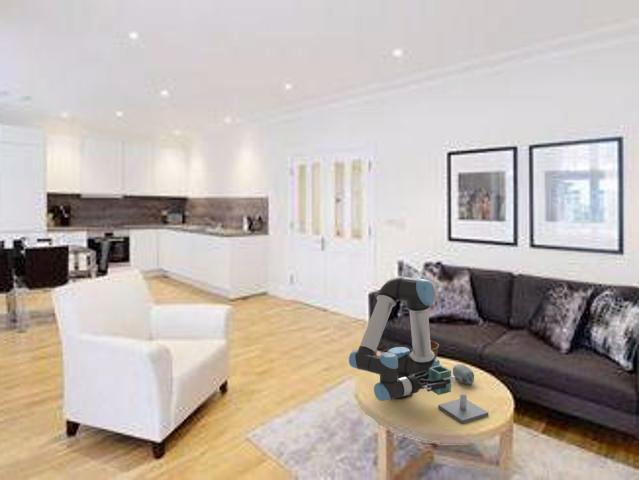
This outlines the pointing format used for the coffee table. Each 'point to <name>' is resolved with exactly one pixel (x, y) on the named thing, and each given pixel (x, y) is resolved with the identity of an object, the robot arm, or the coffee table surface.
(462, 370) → the grey rounded piece
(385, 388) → the robot arm
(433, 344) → the plant pot
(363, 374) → the coffee table surface
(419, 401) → the coffee table surface
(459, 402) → the hub plate
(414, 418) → the coffee table surface
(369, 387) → the coffee table surface
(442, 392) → the sleeve
